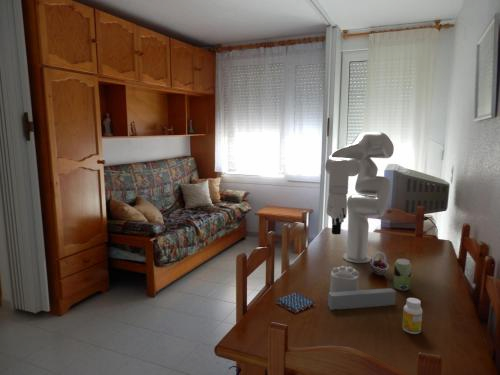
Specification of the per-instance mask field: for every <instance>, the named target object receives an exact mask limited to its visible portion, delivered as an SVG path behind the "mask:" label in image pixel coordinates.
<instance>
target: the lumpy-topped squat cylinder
mask: <svg viewBox="0 0 500 375" xmlns="http://www.w3.org/2000/svg"><path fill="white" fill-rule="evenodd" d="M359 279H360V272H359V271H358V270H356V269H355V268H354V267H353V266H345V265H341V266H338V267H333V268H332V269H331V272H330V282H329V283H330V284H329V292H343V291H358V290H359V284H360V280H359Z"/></svg>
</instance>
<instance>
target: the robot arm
mask: <svg viewBox="0 0 500 375" xmlns="http://www.w3.org/2000/svg"><path fill="white" fill-rule="evenodd" d="M394 149H395V148H394V143H393V141H392V140H391V139H390V137H389V136H388V135H387V133H385V132H375V131H374V132H373V131H372V132H370V131H369V132H368V131H367V132H366V131H365V132H361V133H359V134H358V135H356V137H355V138H354V139H353V140H352V142H351V143H350V144H349V145H346V146H344V147H342V148H338V149H336V150H334V151H333V152H331V154H330V155H329V157H328V158H327V159H326V162H325V165H324V166H325V171H326V173H327V174H328V175H329V177H328V178H329V181H328V197H327V204H326V214H327V216H329V217H330V218H331V234H332V235H341V233H342V232H341V230H342V223H344V220H345V219H346V218H347V235H346V236H347V237H346V239H347V240H346V241H347V242H346V247H345V249H346V252H345V253H344V254H342V256H343V258H342V259H344V260H345V261H347V262H350V263H356V264H366V263H369V262H370V261H371V257H370V256H369V255H368V247H369V246H368V244H369V229H370V228H369V221H368V219H367V217H374V218H380V217H383V216H384V215H385V213H386V209H387V204H388V200H389V196H390V192H391V191H390V190H391V181H390V179H389V178H388V177H386V176H381V175H378V172H379V168H378V166H377V164H376V163H375V162H374V161H373V160H372V158H375V159H390V158H391V157H392V156H393V154H394V151H395V150H394ZM355 176H357V178H356V182H355V187H354V190H355V192H356V193H357V194H356V193H355V194H351V195H350V196H349V197H347V196H348V193H349V177H355ZM347 216H348V217H347ZM366 216H367V217H366Z"/></svg>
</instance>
